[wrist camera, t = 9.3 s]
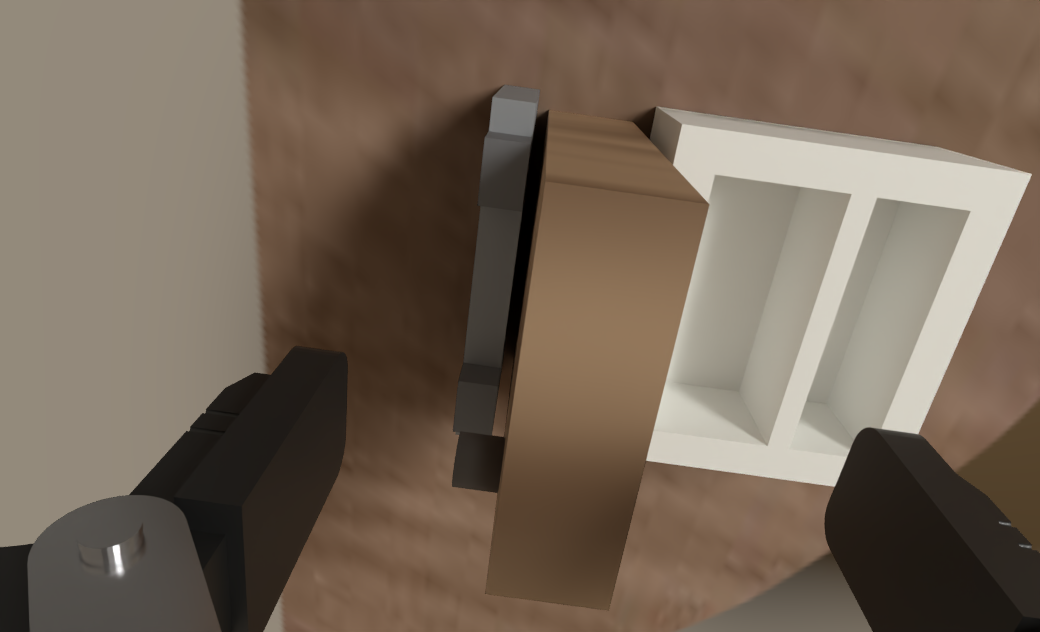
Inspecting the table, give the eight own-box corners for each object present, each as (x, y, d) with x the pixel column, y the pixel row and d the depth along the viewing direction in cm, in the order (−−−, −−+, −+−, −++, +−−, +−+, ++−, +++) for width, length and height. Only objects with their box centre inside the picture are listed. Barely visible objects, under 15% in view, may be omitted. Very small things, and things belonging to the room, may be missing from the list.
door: (514, 105, 19) (476, 171, 10) (632, 121, 19) (709, 204, 10) (483, 354, 22) (433, 586, 13) (585, 369, 22) (608, 610, 13)
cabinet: (504, 84, 18) (489, 101, 14) (937, 146, 19) (1063, 183, 14) (471, 367, 22) (450, 455, 17) (835, 418, 22) (909, 518, 18)
